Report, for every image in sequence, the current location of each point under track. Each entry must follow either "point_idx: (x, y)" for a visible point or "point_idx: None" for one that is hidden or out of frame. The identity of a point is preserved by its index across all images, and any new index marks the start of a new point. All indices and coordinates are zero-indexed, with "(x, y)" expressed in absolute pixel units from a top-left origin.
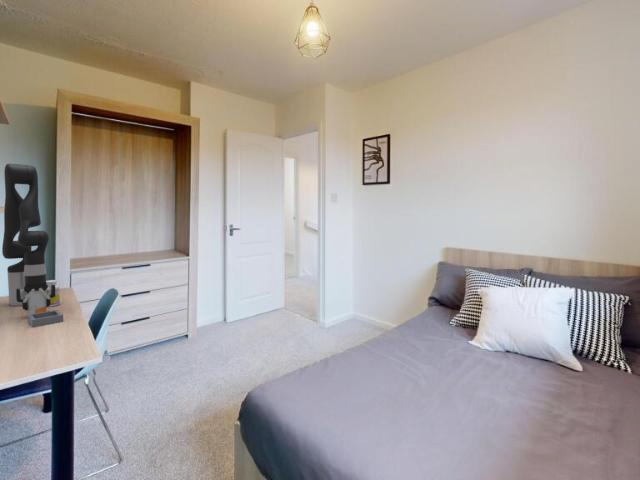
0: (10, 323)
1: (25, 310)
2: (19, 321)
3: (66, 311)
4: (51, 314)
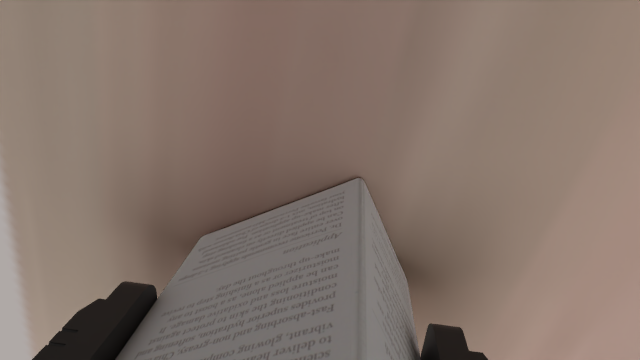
0: None
1: None
2: None
3: (613, 336)
4: None
